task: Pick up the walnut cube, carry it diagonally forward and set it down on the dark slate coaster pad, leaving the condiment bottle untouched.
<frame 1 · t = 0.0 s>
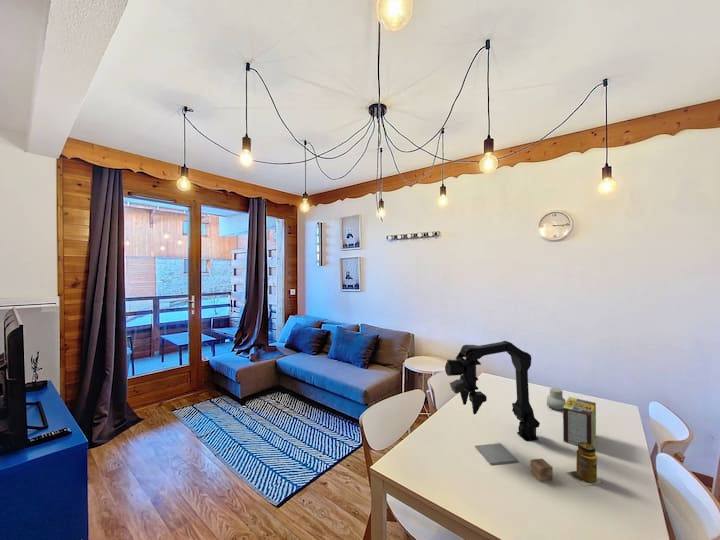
hand: (469, 409, 136), 15 cm above the table, fingers open, 9 cm apart
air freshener: (556, 408, 169), on the table
condiment: (584, 478, 113), on the table
slate pad: (495, 454, 127), on the table
protein box: (579, 439, 138), on the table
walnut cube: (541, 476, 114), on the table
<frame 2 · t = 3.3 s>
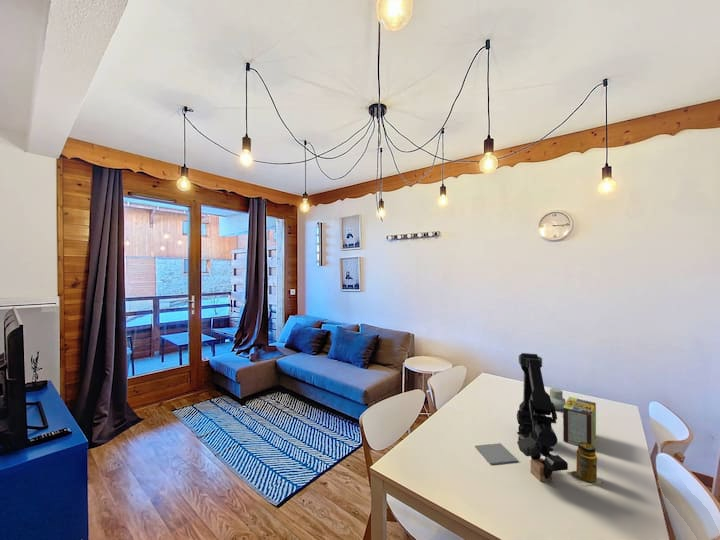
hand: (541, 473, 114), 1 cm above the table, fingers closed on walnut cube, 5 cm apart
walnut cube: (541, 476, 114), on the table, touching gripper
everything else where it was.
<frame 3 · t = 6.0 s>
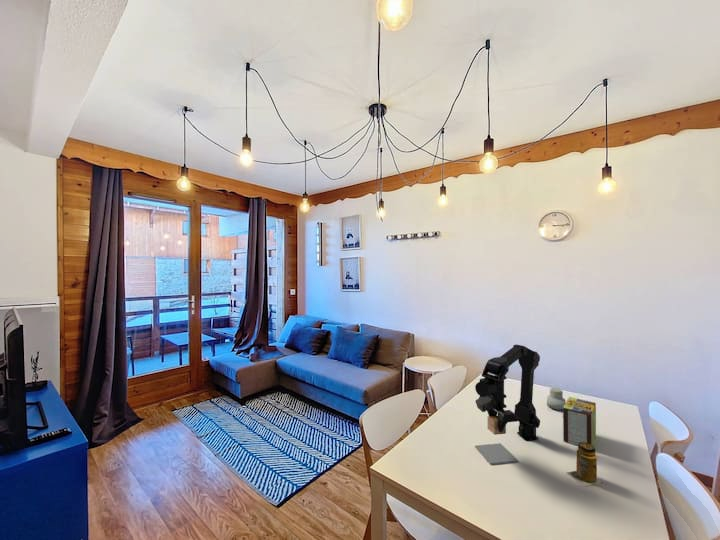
hand: (496, 428, 127), 11 cm above the table, fingers closed on walnut cube, 5 cm apart
walnut cube: (496, 430, 127), point 10 cm above the table, touching gripper
everything else where it was.
when the fingers open (3 cm above the table, at t = 8.3 s): walnut cube drops 1 cm, resting on slate pad.
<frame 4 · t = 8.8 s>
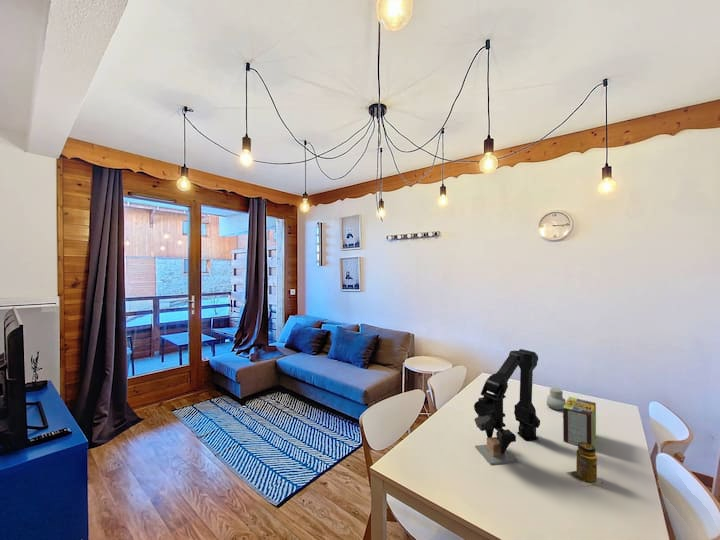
hand: (495, 446, 127), 3 cm above the table, fingers open, 9 cm apart
walnut cube: (495, 452, 127), point 1 cm above the table, touching slate pad
everything else where it was.
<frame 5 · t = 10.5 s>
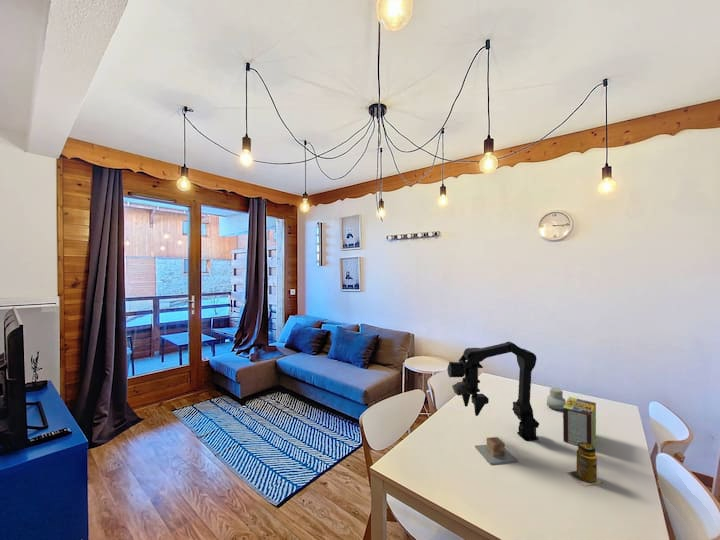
hand: (471, 410, 140), 12 cm above the table, fingers open, 9 cm apart
nothing on the table moved.
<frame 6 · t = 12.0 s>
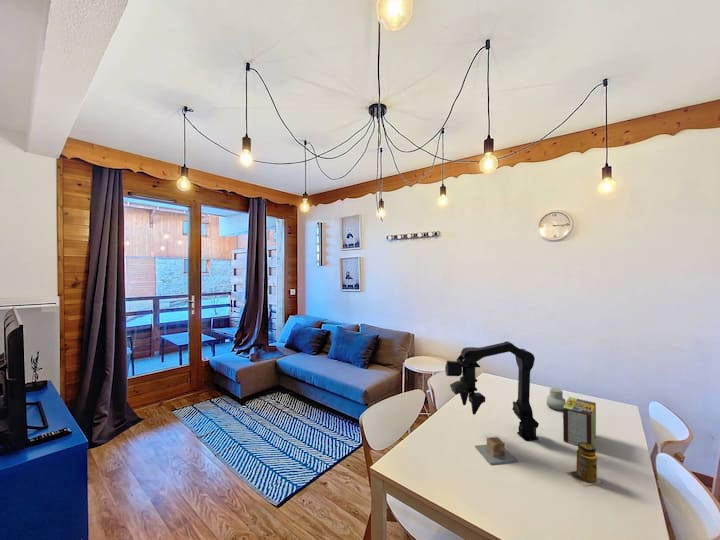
hand: (469, 409, 142), 12 cm above the table, fingers open, 9 cm apart
nothing on the table moved.
at the end: walnut cube inside the target area on the slate pad (0.0 cm from its centre), point 0.6 cm above the slate pad's base; walnut cube tilted 0°; the gripper is holding nothing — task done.
